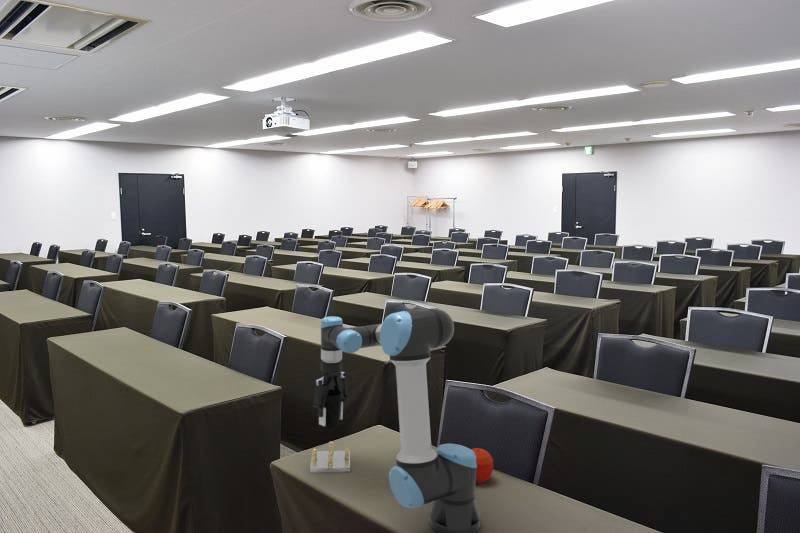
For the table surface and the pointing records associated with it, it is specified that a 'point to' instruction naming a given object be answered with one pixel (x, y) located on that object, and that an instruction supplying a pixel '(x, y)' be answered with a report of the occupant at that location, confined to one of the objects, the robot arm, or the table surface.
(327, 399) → the cup
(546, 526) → the table surface
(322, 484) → the table surface
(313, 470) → the white board with pegs
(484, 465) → the apple
